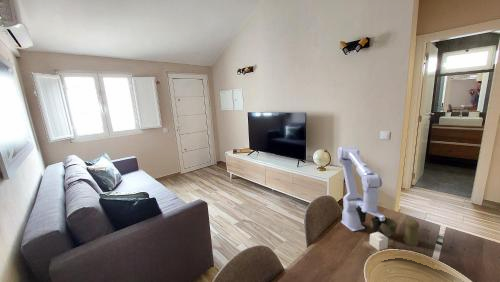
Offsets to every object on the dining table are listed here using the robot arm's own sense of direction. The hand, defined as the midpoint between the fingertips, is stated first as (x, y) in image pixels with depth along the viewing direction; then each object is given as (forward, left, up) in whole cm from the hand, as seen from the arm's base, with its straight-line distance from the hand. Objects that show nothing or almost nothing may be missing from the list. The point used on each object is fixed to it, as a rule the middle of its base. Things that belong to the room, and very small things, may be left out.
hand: (368, 226), depth 99 cm
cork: (+5, +20, -10) cm, 23 cm away
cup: (-2, +14, -10) cm, 17 cm away
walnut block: (+5, +1, -10) cm, 11 cm away
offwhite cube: (+5, +1, -7) cm, 8 cm away
